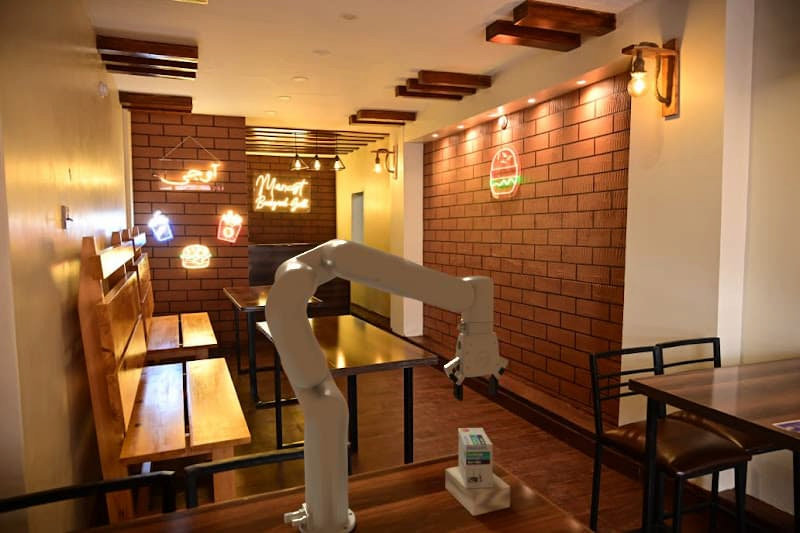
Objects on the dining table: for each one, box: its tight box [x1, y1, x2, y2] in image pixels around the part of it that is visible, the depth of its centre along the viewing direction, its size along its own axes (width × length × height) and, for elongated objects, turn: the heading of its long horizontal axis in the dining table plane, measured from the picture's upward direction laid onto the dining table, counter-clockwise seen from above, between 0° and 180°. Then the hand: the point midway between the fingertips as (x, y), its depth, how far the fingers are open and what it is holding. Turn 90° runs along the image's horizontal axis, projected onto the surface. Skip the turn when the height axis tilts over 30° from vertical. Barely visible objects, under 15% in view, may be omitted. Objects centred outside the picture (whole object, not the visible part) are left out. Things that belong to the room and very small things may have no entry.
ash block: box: [444, 465, 511, 517], centre depth 129 cm, size 10×14×5 cm
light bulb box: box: [457, 427, 494, 488], centre depth 128 cm, size 11×7×11 cm, turn 4°
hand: (476, 396), depth 127 cm, fingers open, 9 cm apart
